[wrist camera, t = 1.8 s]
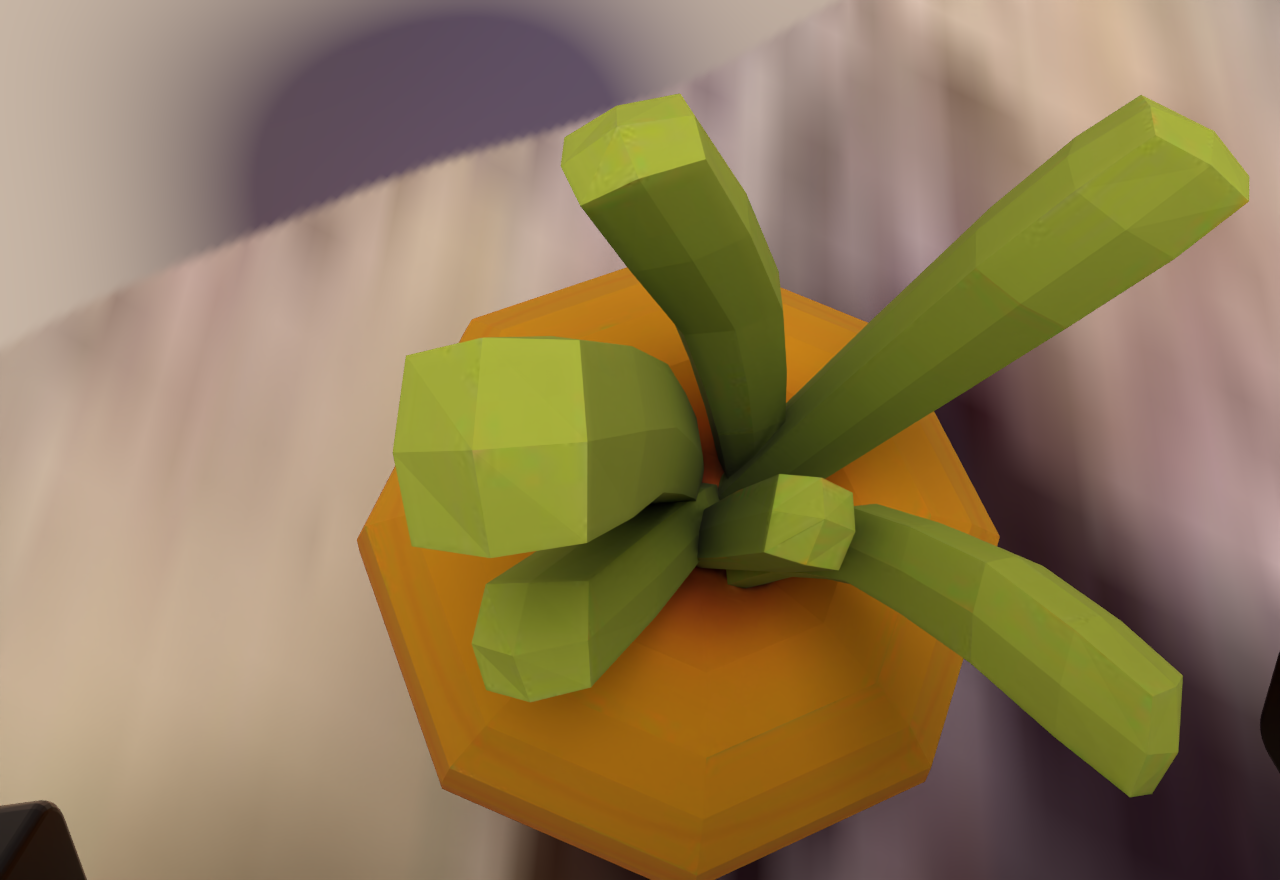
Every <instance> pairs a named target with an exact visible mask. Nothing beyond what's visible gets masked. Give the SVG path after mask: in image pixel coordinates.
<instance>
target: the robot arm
mask: <svg viewBox="0 0 1280 880" xmlns="http://www.w3.org/2000/svg"><path fill="white" fill-rule="evenodd" d="M1260 730H1261V736H1262V740H1263V743H1264V745H1265V748H1266V750H1267V752H1268V754H1269V756H1270V758H1271V759H1272V761H1273V763H1274V765H1275V766H1276V768H1277V770H1278V771H1279V773H1280V652H1279V655H1278V658H1277V662H1276V665H1275V669H1274V672H1273V676H1272V679H1271V683H1270V686H1269V690H1268V693H1267V696H1266V700H1265V703H1264V707H1263V710H1262V714H1261V719H1260ZM0 880H87V879H86V876H85V873H84V871H83V868H82V865H81V862H80V860H79V857H78V854H77V851H76V849H75V846H74V843H73V840H72V838H71V835H70V832H69V830H68V827H67V824H66V821H65V819H64V816H63V814H62V813H61V811H60V809H59V808H58V807H57V806H56V805H55V804H54V803H52V802H49V801H42V800H41V801H33V802H25V803H18V804H10V805H2V806H0Z"/></svg>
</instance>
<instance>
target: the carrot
mask: <svg viewBox="0 0 1280 880" xmlns="http://www.w3.org/2000/svg"><path fill="white" fill-rule="evenodd" d="M561 168H562V170H563V172H564V174H565V176H566V178H567V180H568V182H569V184H570V186H571V188H572V190H573V192H574V194H575V196H576V198H577V200H578V202H579V204H580V206H581V207H582V209H583V210H584V211H585V213H586V214H587V215H588V216H589V218H590V219H591V220H592V222H593V223H594V224H595V226H596V227H597V228H598V229H599V231H600V232H601V233H602V235H603V236H604V237H605V239H606V240H607V241H608V243H609V244H610V245H611V246H612V248H613V249H614V250H615V252H616V253H617V254H618V256H619V257H620V258H621V260H622V261H623V262H624V263H625V265H626V266H627V268H624V269H621V270H618V271H615V272H612V273H609V274H606V275H603V276H600V277H597V278H594V279H591V280H588V281H585V282H582V283H579V284H576V285H573V286H570V287H567V288H564V289H561V290H558V291H555V292H552V293H549V294H546V295H543V296H540V297H537V298H534V299H531V300H528V301H525V302H522V303H519V304H516V305H513V306H510V307H507V308H504V309H502V310H499V311H496V312H493V313H490V314H487V315H484V316H481V317H478V318H475V319H472V320H471V322H470V324H469V325H468V327H467V329H466V330H465V332H464V334H463V336H462V338H461V340H460V342H459V343H457V344H453V345H449V346H445V347H440V348H436V349H432V350H428V351H424V352H419V353H415V354H411V355H407V356H406V359H405V367H404V374H403V381H402V389H401V396H400V403H399V411H398V418H397V425H396V432H395V440H394V447H393V456H394V461H395V467H394V469H393V471H392V473H391V475H390V477H389V479H388V481H387V483H386V485H385V486H384V488H383V490H382V492H381V494H380V496H379V498H378V500H377V502H376V504H375V506H374V508H373V510H372V512H371V513H370V515H369V517H368V519H367V521H366V523H365V525H364V527H363V529H362V531H361V533H360V535H359V537H358V539H357V542H358V546H359V551H360V554H361V557H362V560H363V562H364V565H365V568H366V571H367V574H368V577H369V580H370V583H371V585H372V588H373V591H374V594H375V597H376V600H377V603H378V606H379V608H380V611H381V614H382V617H383V620H384V623H385V626H386V629H387V631H388V634H389V637H390V640H391V643H392V646H393V649H394V652H395V654H396V657H397V660H398V663H399V666H400V669H401V672H402V675H403V677H404V680H405V683H406V686H407V689H408V692H409V695H410V698H411V700H412V703H413V706H414V709H415V712H416V715H417V718H418V721H419V723H420V726H421V729H422V732H423V735H424V738H425V741H426V744H427V746H428V749H429V752H430V755H431V758H432V761H433V764H434V767H435V769H436V772H437V775H438V778H439V781H440V784H441V787H442V789H444V790H446V791H449V792H451V793H453V794H456V795H458V796H460V797H463V798H465V799H467V800H469V801H472V802H474V803H476V804H479V805H481V806H483V807H485V808H488V809H490V810H492V811H495V812H497V813H499V814H501V815H504V816H506V817H508V818H511V819H513V820H515V821H518V822H520V823H522V824H524V825H527V826H529V827H531V828H534V829H536V830H538V831H540V832H543V833H545V834H547V835H550V836H552V837H554V838H557V839H559V840H561V841H563V842H566V843H568V844H570V845H573V846H575V847H577V848H579V849H582V850H584V851H586V852H589V853H591V854H593V855H595V856H598V857H600V858H602V859H605V860H607V861H609V862H612V863H614V864H616V865H618V866H621V867H623V868H625V869H628V870H630V871H632V872H634V873H637V874H639V875H641V876H644V877H646V878H648V879H650V880H715V879H717V878H719V877H721V876H723V875H725V874H728V873H730V872H732V871H734V870H736V869H738V868H740V867H743V866H745V865H747V864H749V863H751V862H753V861H755V860H758V859H760V858H762V857H764V856H766V855H768V854H770V853H773V852H775V851H777V850H779V849H781V848H783V847H785V846H788V845H790V844H792V843H794V842H796V841H798V840H800V839H803V838H805V837H807V836H809V835H811V834H813V833H816V832H818V831H820V830H822V829H824V828H826V827H828V826H831V825H833V824H835V823H837V822H839V821H841V820H843V819H846V818H848V817H850V816H852V815H854V814H856V813H858V812H861V811H863V810H865V809H867V808H869V807H871V806H873V805H876V804H878V803H880V802H882V801H884V800H886V799H889V798H891V797H893V796H895V795H897V794H899V793H901V792H904V791H906V790H908V789H910V788H912V787H914V786H916V785H919V784H921V783H923V782H925V780H926V778H927V776H928V773H929V771H930V769H931V766H932V763H933V759H934V756H935V752H936V749H937V746H938V742H939V739H940V736H941V732H942V729H943V726H944V722H945V719H946V715H947V712H948V709H949V705H950V702H951V699H952V695H953V692H954V689H955V685H956V682H957V679H958V675H959V672H960V668H961V665H962V662H963V658H964V659H965V660H967V661H968V662H970V663H971V664H972V665H973V666H974V667H975V668H977V669H978V670H979V671H980V672H981V673H982V674H983V675H985V676H986V677H987V678H988V679H989V680H990V681H991V682H993V683H994V684H995V685H996V686H997V687H998V688H999V689H1000V690H1002V691H1003V692H1004V693H1005V694H1006V695H1007V696H1008V697H1010V698H1011V699H1012V700H1013V701H1014V702H1015V703H1016V704H1018V705H1019V706H1020V707H1021V708H1022V709H1023V710H1024V711H1026V712H1027V713H1028V714H1029V715H1030V716H1031V717H1032V718H1034V719H1035V720H1036V721H1037V722H1038V723H1039V724H1040V725H1041V726H1043V727H1044V728H1045V729H1046V730H1047V731H1048V732H1049V733H1051V734H1052V735H1053V736H1054V737H1055V738H1056V739H1058V740H1059V741H1060V742H1061V743H1063V744H1064V745H1065V746H1066V747H1068V748H1069V749H1070V750H1072V751H1073V752H1074V753H1075V754H1077V755H1078V756H1079V757H1080V758H1082V759H1083V760H1084V761H1085V762H1087V763H1088V764H1089V765H1090V766H1092V767H1093V768H1094V769H1095V770H1097V771H1098V772H1099V773H1100V774H1102V775H1103V776H1104V777H1105V778H1107V779H1108V780H1109V781H1110V782H1112V783H1113V784H1114V785H1115V786H1117V787H1118V788H1119V789H1120V790H1122V791H1123V792H1124V793H1125V794H1127V795H1128V796H1129V797H1135V796H1141V795H1147V794H1152V793H1153V791H1154V790H1155V788H1156V786H1157V785H1158V783H1159V782H1160V780H1161V779H1162V777H1163V775H1164V774H1165V772H1166V771H1167V769H1168V768H1169V766H1170V764H1171V763H1172V761H1173V760H1174V758H1175V756H1176V755H1177V753H1178V746H1179V730H1180V714H1181V697H1182V681H1183V675H1181V674H1180V673H1179V672H1178V671H1177V670H1176V669H1175V668H1174V667H1172V666H1171V665H1170V664H1169V663H1168V662H1167V661H1166V660H1165V659H1163V658H1162V657H1161V656H1160V655H1159V654H1158V653H1157V652H1155V651H1154V650H1153V649H1152V648H1151V647H1150V646H1149V645H1148V644H1146V643H1145V642H1144V641H1143V640H1142V639H1141V638H1140V637H1139V636H1137V635H1136V634H1135V633H1134V632H1133V631H1132V630H1131V629H1129V628H1128V627H1127V626H1126V625H1125V624H1124V623H1123V622H1122V621H1120V620H1119V619H1117V618H1116V617H1115V616H1113V615H1112V614H1110V613H1109V612H1108V611H1106V610H1105V609H1103V608H1102V607H1100V606H1099V605H1098V604H1096V603H1095V602H1093V601H1092V600H1090V599H1089V598H1088V597H1086V596H1085V595H1083V594H1082V593H1080V592H1079V591H1078V590H1076V589H1075V588H1073V587H1072V586H1070V585H1069V584H1068V583H1066V582H1065V581H1063V580H1062V579H1060V578H1059V577H1058V576H1056V575H1055V574H1053V573H1052V572H1051V571H1049V570H1048V569H1046V568H1045V567H1043V566H1041V565H1039V564H1037V563H1034V562H1032V561H1030V560H1027V559H1025V558H1023V557H1020V556H1018V555H1016V554H1013V553H1011V552H1009V551H1006V550H1004V549H1002V548H999V547H997V544H998V541H999V537H1000V536H999V534H998V533H997V531H996V529H995V527H994V525H993V523H992V521H991V519H990V517H989V515H988V514H987V512H986V510H985V508H984V506H983V504H982V502H981V500H980V498H979V496H978V495H977V493H976V491H975V489H974V487H973V485H972V483H971V481H970V479H969V477H968V476H967V474H966V472H965V470H964V468H963V466H962V464H961V462H960V460H959V458H958V457H957V455H956V453H955V451H954V449H953V447H952V445H951V443H950V441H949V439H948V438H947V436H946V434H945V432H944V430H943V428H942V426H941V424H940V422H939V420H938V419H937V417H936V415H935V413H934V411H935V410H936V409H938V408H940V407H941V406H943V405H944V404H946V403H948V402H949V401H951V400H952V399H954V398H956V397H957V396H959V395H960V394H962V393H964V392H965V391H967V390H968V389H970V388H972V387H973V386H975V385H976V384H978V383H980V382H981V381H983V380H984V379H986V378H988V377H989V376H991V375H992V374H994V373H996V372H997V371H999V370H1000V369H1002V368H1004V367H1005V366H1007V365H1008V364H1010V363H1012V362H1013V361H1015V360H1016V359H1018V358H1020V357H1021V356H1023V355H1024V354H1026V353H1028V352H1029V351H1031V350H1032V349H1034V348H1036V347H1037V346H1039V345H1040V344H1042V343H1044V342H1045V341H1047V340H1048V339H1050V338H1052V337H1053V336H1055V335H1056V334H1058V333H1060V332H1061V331H1063V330H1064V329H1066V328H1068V327H1069V326H1071V325H1072V324H1074V323H1075V322H1077V321H1079V320H1080V319H1082V318H1083V317H1085V316H1086V315H1088V314H1089V313H1091V312H1093V311H1094V310H1096V309H1097V308H1099V307H1100V306H1102V305H1103V304H1105V303H1107V302H1108V301H1110V300H1111V299H1113V298H1114V297H1116V296H1117V295H1119V294H1121V293H1122V292H1124V291H1125V290H1127V289H1128V288H1130V287H1131V286H1133V285H1135V284H1136V283H1138V282H1139V281H1141V280H1142V279H1144V278H1145V277H1147V276H1149V275H1150V274H1152V273H1153V272H1155V271H1156V270H1158V269H1159V268H1161V267H1163V266H1164V265H1166V264H1167V263H1169V262H1170V261H1172V260H1173V259H1175V258H1176V257H1178V256H1179V255H1180V254H1181V253H1183V252H1184V251H1185V250H1187V249H1188V248H1189V247H1191V246H1192V245H1193V244H1194V243H1196V242H1197V241H1198V240H1200V239H1201V238H1202V237H1203V236H1205V235H1206V234H1207V233H1209V232H1210V231H1211V230H1213V229H1214V228H1215V227H1216V226H1218V225H1219V224H1220V223H1222V222H1223V221H1224V220H1226V219H1227V218H1228V217H1229V216H1231V215H1232V214H1233V213H1235V212H1236V211H1237V210H1238V209H1240V208H1241V207H1242V206H1244V205H1245V204H1246V203H1248V202H1249V175H1248V174H1247V173H1246V172H1245V170H1244V169H1243V168H1242V166H1241V165H1240V164H1239V163H1238V161H1237V160H1236V159H1235V157H1234V156H1233V155H1232V154H1231V152H1230V151H1229V150H1228V148H1227V147H1226V146H1225V145H1224V143H1223V142H1222V141H1221V139H1220V138H1219V137H1218V136H1217V134H1216V133H1215V132H1214V131H1213V130H1211V129H1208V128H1206V127H1204V126H1202V125H1200V124H1198V123H1196V122H1194V121H1192V120H1190V119H1188V118H1186V117H1184V116H1182V115H1180V114H1178V113H1176V112H1174V111H1172V110H1170V109H1168V108H1166V107H1164V106H1162V105H1160V104H1158V103H1156V102H1154V101H1152V100H1150V99H1148V98H1146V97H1144V96H1142V95H1140V96H1139V97H1137V98H1135V99H1134V100H1132V101H1131V102H1129V103H1128V104H1126V105H1125V106H1123V107H1122V108H1120V109H1118V110H1117V111H1115V112H1114V113H1112V114H1111V115H1109V116H1108V117H1106V118H1104V119H1103V120H1101V121H1100V122H1098V123H1097V124H1095V125H1094V126H1092V127H1091V128H1089V129H1087V130H1086V131H1084V132H1083V133H1081V134H1080V135H1078V136H1077V137H1075V138H1074V139H1073V140H1072V141H1070V142H1069V143H1068V144H1067V145H1065V146H1064V147H1063V148H1062V149H1061V150H1059V151H1058V152H1057V153H1056V154H1055V155H1053V156H1052V157H1051V158H1050V159H1049V160H1047V161H1046V162H1045V163H1044V164H1042V165H1041V166H1040V167H1039V168H1038V169H1036V170H1035V171H1034V172H1033V173H1032V174H1030V175H1029V176H1028V177H1027V178H1026V179H1024V180H1023V181H1022V182H1021V183H1019V184H1018V185H1017V186H1016V187H1015V188H1013V189H1012V190H1011V191H1010V192H1009V193H1007V194H1006V195H1005V196H1004V197H1003V198H1001V199H1000V200H999V201H998V202H996V203H995V204H994V205H993V206H992V207H991V208H989V209H988V210H987V211H986V212H985V213H984V214H983V215H982V216H981V217H980V218H979V219H978V220H977V221H976V222H975V223H974V224H973V225H972V226H970V227H969V228H968V229H967V230H966V231H965V232H964V233H963V234H962V235H961V236H960V237H959V238H958V239H957V240H956V241H955V242H954V243H953V244H952V245H950V246H949V247H948V248H947V249H946V250H945V251H944V252H943V253H942V254H941V255H940V256H939V257H938V258H937V259H936V260H935V261H934V262H933V263H931V264H930V265H929V266H928V267H927V268H926V269H925V270H924V271H923V272H922V273H921V274H920V275H919V276H918V277H917V278H916V279H915V280H914V281H912V282H911V283H910V284H909V285H908V286H907V287H906V288H905V289H904V290H903V291H902V292H901V293H900V294H899V295H898V296H897V297H896V298H895V299H894V300H892V301H891V302H890V303H889V304H888V305H887V306H886V307H885V308H884V309H883V310H882V311H881V312H880V313H879V314H878V315H877V316H876V317H875V318H873V319H872V320H871V321H870V322H869V323H867V322H865V321H862V320H860V319H857V318H855V317H852V316H850V315H847V314H845V313H843V312H840V311H838V310H835V309H833V308H830V307H828V306H825V305H823V304H820V303H818V302H815V301H813V300H810V299H808V298H805V297H803V296H800V295H798V294H795V293H793V292H791V291H788V290H786V289H783V288H781V287H780V280H779V272H778V269H777V267H776V264H775V262H774V259H773V257H772V255H771V252H770V250H769V247H768V245H767V242H766V240H765V238H764V235H763V233H762V230H761V228H760V226H759V223H758V221H757V218H756V216H755V214H754V211H753V209H752V206H751V204H750V202H749V199H748V197H747V194H746V192H745V191H744V189H743V188H742V186H741V185H740V183H739V182H738V180H737V179H736V177H735V176H734V174H733V173H732V171H731V170H730V168H729V167H728V165H727V164H726V162H725V161H724V159H723V158H722V156H721V155H720V153H719V152H718V150H717V149H716V147H715V146H714V144H713V143H712V141H711V140H710V138H709V137H708V135H707V133H706V132H705V130H704V129H703V127H702V126H701V124H700V123H699V121H698V120H697V118H696V117H695V115H694V114H693V112H692V111H691V109H690V108H689V106H688V105H687V103H686V102H685V100H684V99H683V97H682V96H681V94H675V95H670V96H665V97H660V98H655V99H650V100H644V101H639V102H634V103H629V104H624V105H618V106H615V107H614V108H612V109H610V110H609V111H607V112H606V113H604V114H602V115H601V116H599V117H597V118H596V119H594V120H592V121H591V122H589V123H588V124H586V125H584V126H583V127H581V128H579V129H578V130H576V131H574V132H573V133H571V134H569V135H568V136H566V137H565V138H564V145H563V153H562V161H561Z"/></svg>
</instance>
